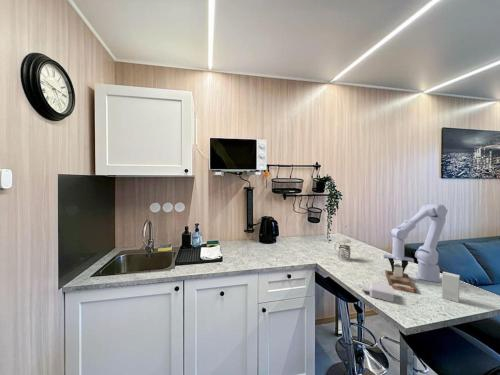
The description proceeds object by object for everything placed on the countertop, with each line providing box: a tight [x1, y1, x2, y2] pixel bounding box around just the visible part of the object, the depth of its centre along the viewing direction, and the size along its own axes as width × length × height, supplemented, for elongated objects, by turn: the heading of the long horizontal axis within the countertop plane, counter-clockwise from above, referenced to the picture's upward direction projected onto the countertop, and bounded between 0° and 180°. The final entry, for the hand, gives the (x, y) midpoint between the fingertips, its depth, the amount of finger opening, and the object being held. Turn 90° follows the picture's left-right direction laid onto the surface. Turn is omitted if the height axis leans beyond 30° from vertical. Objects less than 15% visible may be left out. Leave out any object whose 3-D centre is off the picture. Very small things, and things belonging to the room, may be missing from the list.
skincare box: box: [441, 271, 461, 303], centre depth 102 cm, size 6×4×12 cm
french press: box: [334, 224, 353, 263], centre depth 153 cm, size 10×12×25 cm
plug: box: [393, 263, 403, 278], centre depth 124 cm, size 4×5×6 cm
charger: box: [357, 281, 395, 303], centre depth 105 cm, size 5×9×15 cm
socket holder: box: [384, 269, 417, 294], centre depth 119 cm, size 11×21×2 cm, turn 154°
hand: (397, 272), depth 124 cm, fingers closed on plug, 4 cm apart
